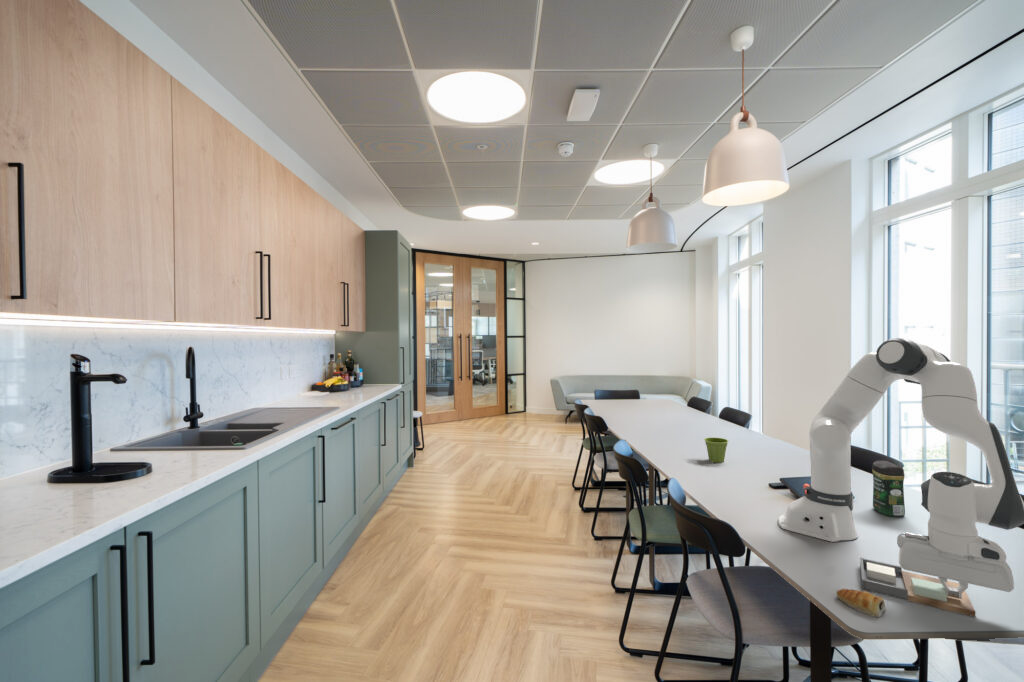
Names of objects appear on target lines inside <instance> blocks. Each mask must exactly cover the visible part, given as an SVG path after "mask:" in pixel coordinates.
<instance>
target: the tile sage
mask: <svg viewBox="0 0 1024 682" xmlns="http://www.w3.org/2000/svg"><path fill="white" fill-rule="evenodd" d="M911 586H912V589H913V592H914V594H915V595H920V596H924V597H928V598H933V599H937V600H941V601H945V602H947V593H946V591H945V589H944V587H943V585H942V584H939V583H935V582H930V581H926V580H921V579H916V578H912V577H911Z"/></svg>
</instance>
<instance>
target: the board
mask: <svg viewBox="0 0 1024 682" xmlns="http://www.w3.org/2000/svg"><path fill="white" fill-rule="evenodd" d="M911 577H912V578H916V579H921V580H926V581H930V582H935V583H939V584H941V582H940V581H939V578H938V577H937V578H936V577H933V576H932V577H931V576H929V575H924V574H923V575H921V574H919V573H918V574H917V573H915V572H909V571H906V570H905V571H904V570H902V579H903V582H904V586H905V589H907V590H908V600H907V601H909V602H913V603H917V604H921V605H925V606H930V607H934V608H937V609H941V610H945V611H946V610H947V611H949V612H954V613H957V612H958V613H957V614H962V615H966V616H970V617H974V618H976V610H975V608H974V606H973V604H972V602H971V600H970V598H969V595H968V594H967V591H966V590H965V591H964V592H963V593H962V599H958V598H954V597H950V596H947V602H945V601H941V600H937V599H933V598H928V597H924V596H920V595H915V594H914V592H913V589H912V586H911ZM945 583H946V582H945ZM946 585H947V586H948V587H952V588H956V589H957V587H958V586H959V585H960V584H959V582H954V581H950V580H947V583H946Z"/></svg>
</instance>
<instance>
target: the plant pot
mask: <svg viewBox="0 0 1024 682" xmlns="http://www.w3.org/2000/svg"><path fill="white" fill-rule="evenodd" d="M703 440H704V442H705V445H706V449H707V457H708V461H709V462H710V463H711V462H712V463H719V464H721V463H724V462H725V457H726V451H727V447H728V443H729V442H730V440H728V439H726V438H722V437H721V438H720V437H713V436H712V437H710V436H709V437H705V438H704V439H703Z"/></svg>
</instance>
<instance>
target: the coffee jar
mask: <svg viewBox="0 0 1024 682" xmlns="http://www.w3.org/2000/svg"><path fill="white" fill-rule="evenodd" d="M871 468H872V469H871V471H872V478H873V479H872V481H873V483H872V484H873V486H872V487H873V488H872V490H873V491H872V508H873V509H874V510H875V511H877V512H878V513H881V514H882V515H884V516H889V517H890V516H891V517H896V518H899V517H904V516H905V515H906V507H905V495H904V494H905V492H904V481H905V469H904V468H903V467H901V466H898V465H896V464H894V463H892V462H890V461H888V460H875V461H874V462H873V463H872V467H871Z"/></svg>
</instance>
